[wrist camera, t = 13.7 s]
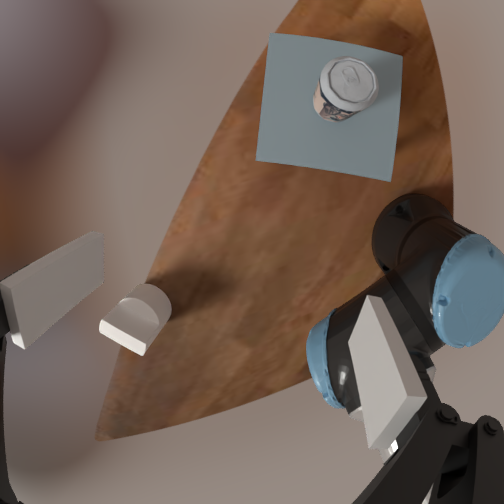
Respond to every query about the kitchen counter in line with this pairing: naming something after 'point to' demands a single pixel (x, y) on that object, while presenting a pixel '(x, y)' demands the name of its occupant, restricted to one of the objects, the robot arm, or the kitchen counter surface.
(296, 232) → the kitchen counter surface
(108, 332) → the base with upright slab
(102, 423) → the kitchen counter surface
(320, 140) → the pale blue square-topped fixture
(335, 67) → the beer can
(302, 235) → the kitchen counter surface
